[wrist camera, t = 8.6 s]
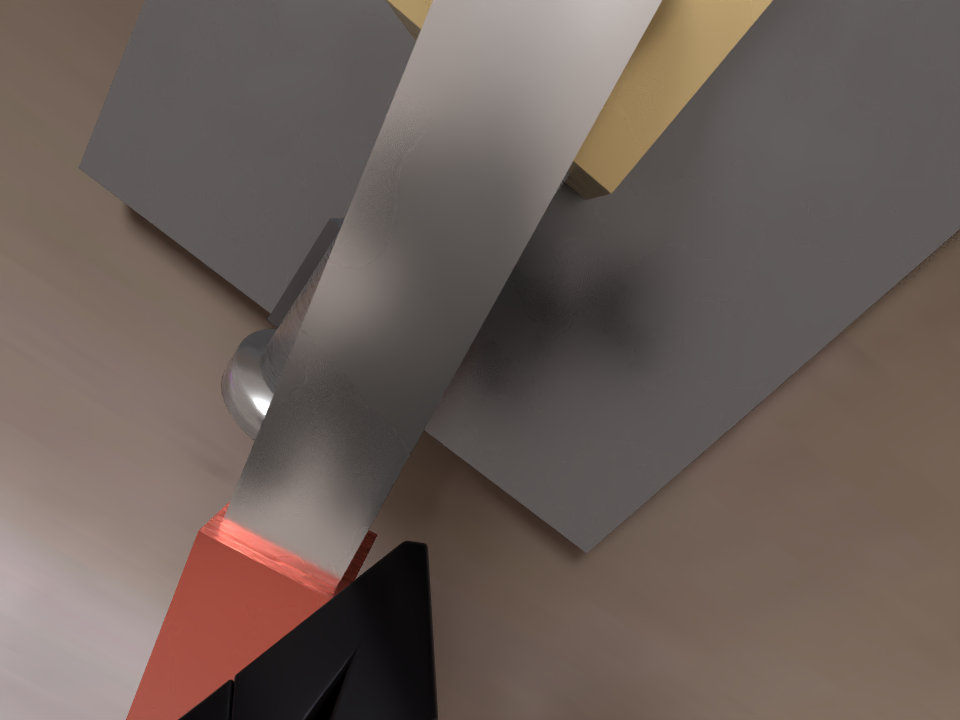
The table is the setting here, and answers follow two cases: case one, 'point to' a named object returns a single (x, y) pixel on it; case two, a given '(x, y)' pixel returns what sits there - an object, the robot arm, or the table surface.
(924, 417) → the table surface
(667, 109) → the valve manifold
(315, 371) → the lever
